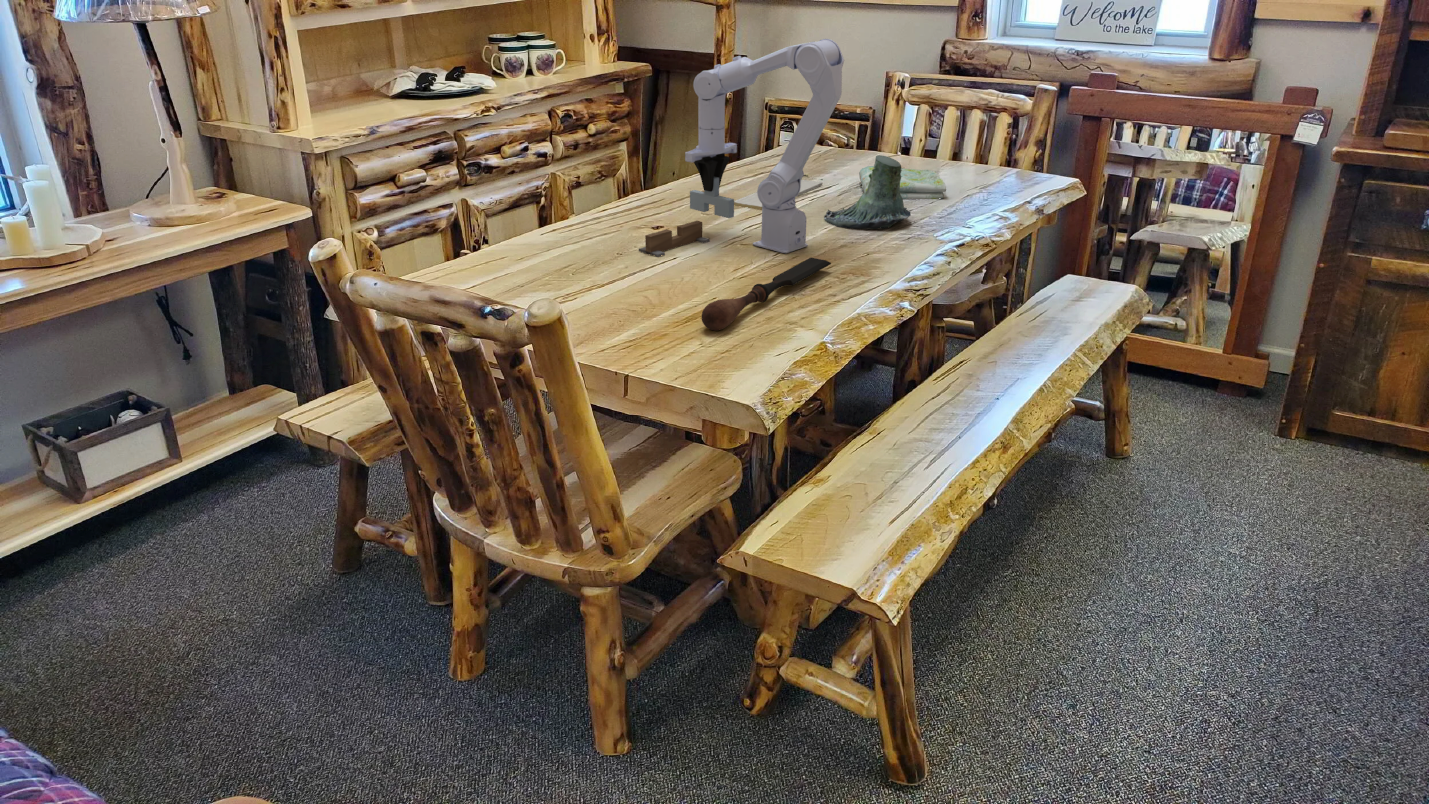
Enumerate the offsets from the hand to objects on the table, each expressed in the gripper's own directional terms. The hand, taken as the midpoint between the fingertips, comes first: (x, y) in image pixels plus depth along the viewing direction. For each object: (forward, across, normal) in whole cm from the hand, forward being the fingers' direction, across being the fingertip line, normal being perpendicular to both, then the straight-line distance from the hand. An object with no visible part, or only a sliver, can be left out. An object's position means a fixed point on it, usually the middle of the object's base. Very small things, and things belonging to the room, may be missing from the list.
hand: (711, 189), depth 227 cm
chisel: (+11, +24, +37) cm, 46 cm away
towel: (+11, -65, +8) cm, 66 cm away
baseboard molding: (+11, -39, -14) cm, 43 cm away
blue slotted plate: (+5, 0, 0) cm, 5 cm away
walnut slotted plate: (+10, +12, 0) cm, 16 cm away
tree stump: (+11, -35, +18) cm, 41 cm away
